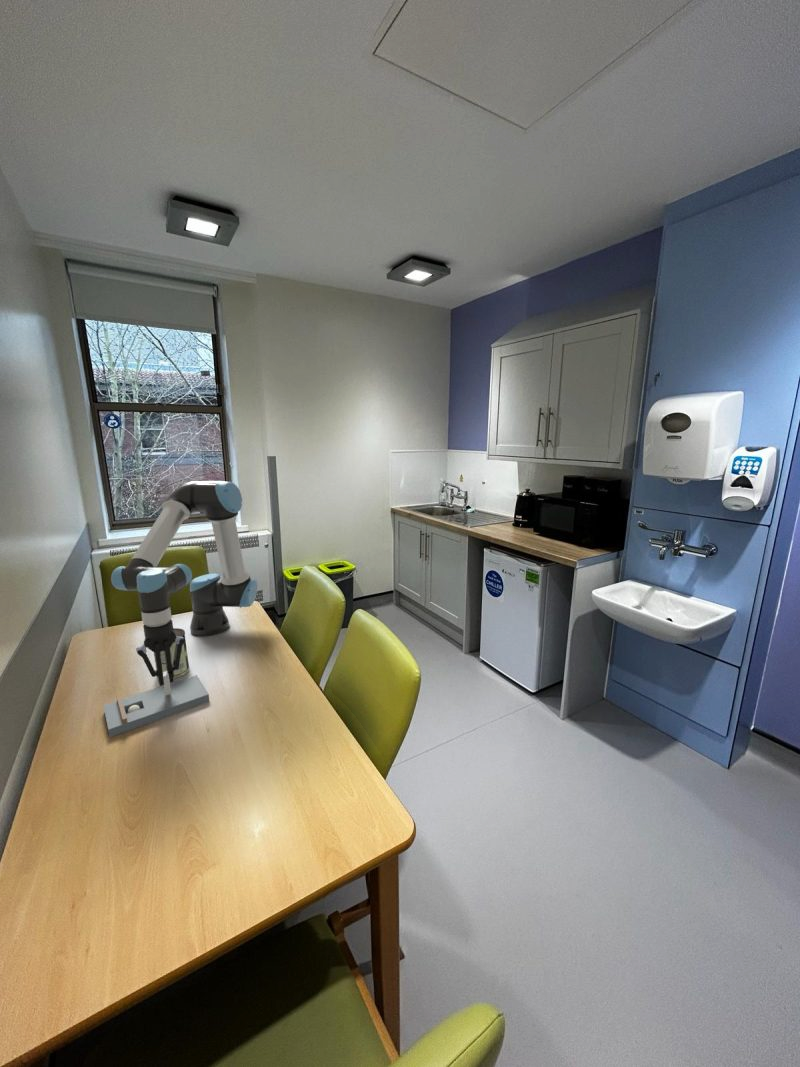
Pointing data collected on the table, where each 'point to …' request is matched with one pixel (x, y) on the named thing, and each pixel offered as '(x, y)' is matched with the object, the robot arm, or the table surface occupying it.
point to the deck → (154, 705)
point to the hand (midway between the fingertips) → (167, 692)
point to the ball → (133, 708)
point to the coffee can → (183, 658)
